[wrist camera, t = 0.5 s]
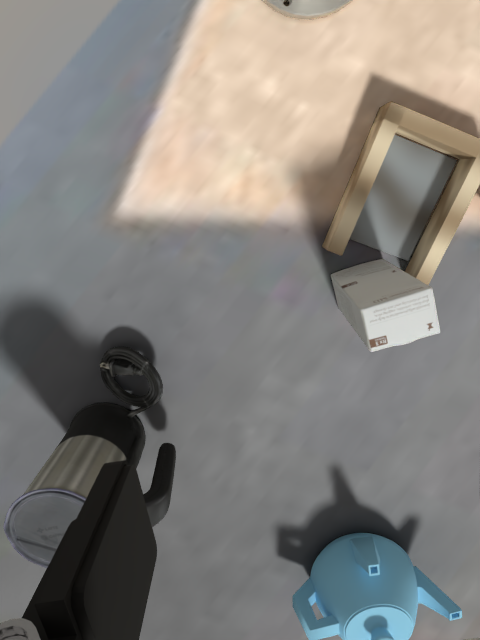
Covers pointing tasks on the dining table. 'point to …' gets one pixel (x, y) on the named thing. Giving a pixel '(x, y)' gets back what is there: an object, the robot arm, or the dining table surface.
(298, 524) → the dining table surface
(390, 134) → the wooden tray
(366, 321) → the skincare box
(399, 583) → the teapot
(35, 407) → the dining table surface
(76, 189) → the dining table surface
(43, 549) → the black and silver appliance
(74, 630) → the robot arm
